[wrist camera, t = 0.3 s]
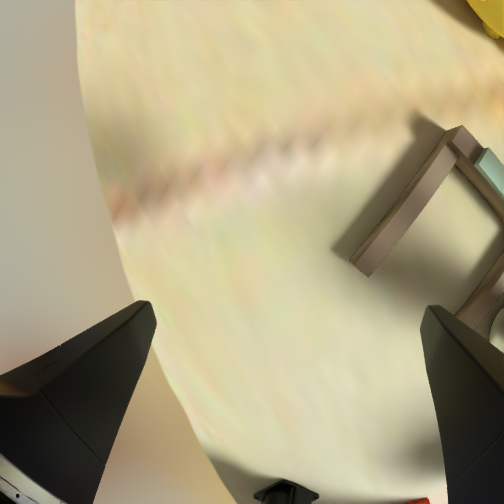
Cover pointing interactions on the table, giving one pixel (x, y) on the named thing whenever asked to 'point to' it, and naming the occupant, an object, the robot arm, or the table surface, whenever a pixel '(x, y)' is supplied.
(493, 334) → the plastic bottle
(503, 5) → the teapot
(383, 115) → the table surface
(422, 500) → the file binder
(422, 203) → the comb rack
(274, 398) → the table surface
